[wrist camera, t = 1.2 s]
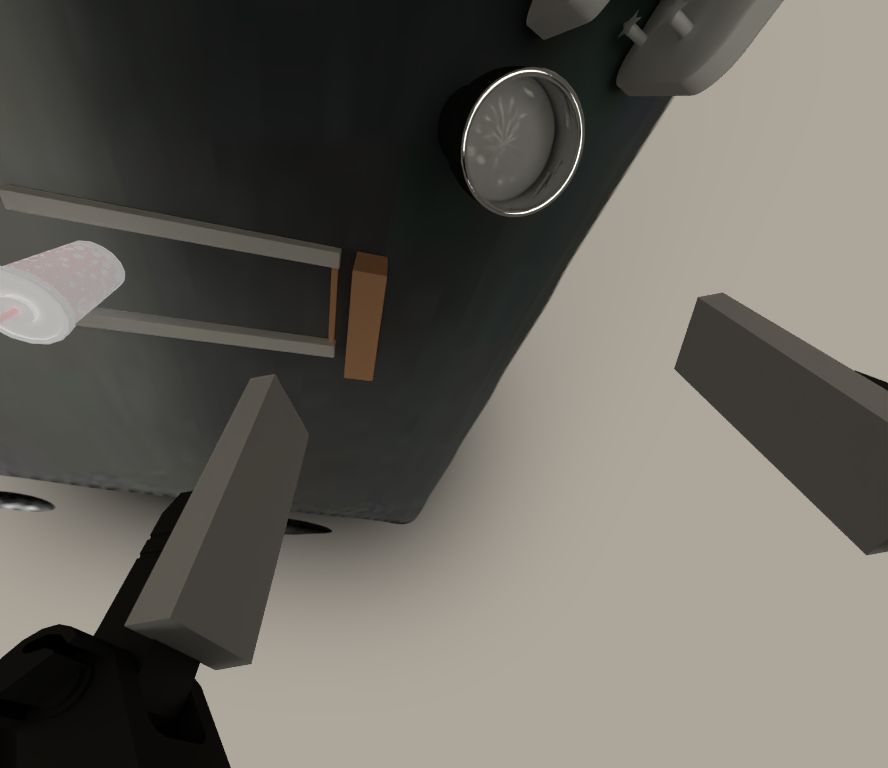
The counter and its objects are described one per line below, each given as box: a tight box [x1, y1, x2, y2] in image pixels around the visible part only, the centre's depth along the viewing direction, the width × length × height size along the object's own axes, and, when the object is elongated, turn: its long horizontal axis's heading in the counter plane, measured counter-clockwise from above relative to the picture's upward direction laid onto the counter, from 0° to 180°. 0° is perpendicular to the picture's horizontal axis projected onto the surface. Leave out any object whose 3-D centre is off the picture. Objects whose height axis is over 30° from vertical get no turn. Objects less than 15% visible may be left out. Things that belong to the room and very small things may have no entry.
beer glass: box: [438, 66, 585, 217], centre depth 24 cm, size 7×7×15 cm
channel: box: [0, 185, 388, 381], centre depth 34 cm, size 30×12×5 cm, turn 77°
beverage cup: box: [0, 241, 125, 344], centre depth 28 cm, size 6×6×14 cm
